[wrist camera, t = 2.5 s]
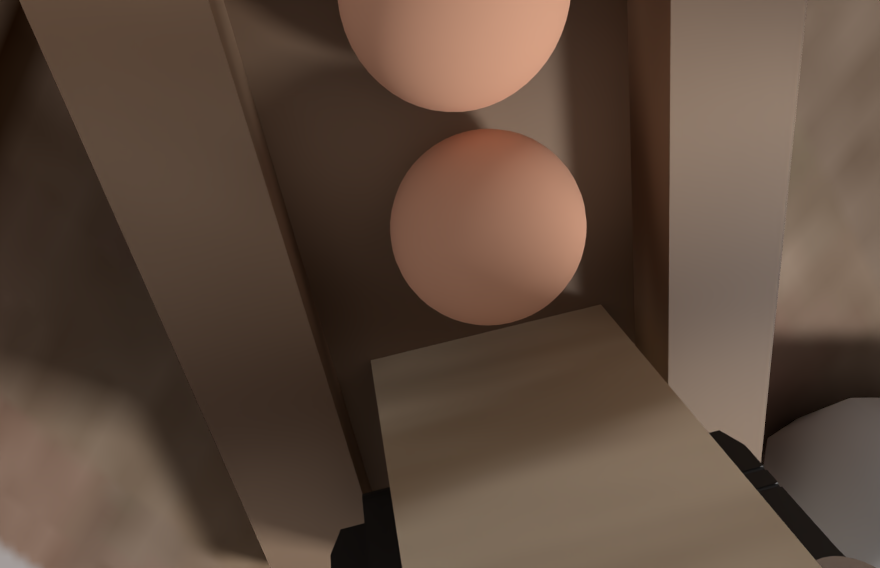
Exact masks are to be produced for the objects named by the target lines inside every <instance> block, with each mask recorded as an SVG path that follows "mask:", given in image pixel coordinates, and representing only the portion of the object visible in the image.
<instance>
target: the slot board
mask: <svg viewBox="0 0 880 568" xmlns="http://www.w3.org/2000/svg"><path fill="white" fill-rule="evenodd" d="M19 1H20V3H21V5H22V8H23V10H24V12H25V15H26V17H27V19H28V21H29V24H30V26H31V28H32V30H33V33H34V35H35V37H36V39H37V42H38V44H39V46H40V48H41V51H42V53H43V55H44V57H45V60H46V62H47V64H48V66H49V69H50V71H51V73H52V76H53V78H54V80H55V82H56V85H57V87H58V89H59V91H60V94H61V96H62V98H63V100H64V103H65V105H66V107H67V109H68V112H69V114H70V116H71V118H72V121H73V123H74V125H75V127H76V130H77V132H78V134H79V137H80V139H81V141H82V143H83V146H84V148H85V150H86V152H87V155H88V157H89V159H90V161H91V164H92V166H93V168H94V170H95V173H96V175H97V177H98V179H99V182H100V184H101V186H102V188H103V191H104V193H105V195H106V198H107V200H108V202H109V204H110V207H111V209H112V211H113V213H114V216H115V218H116V220H117V222H118V225H119V227H120V229H121V231H122V234H123V236H124V238H125V240H126V243H127V245H128V247H129V249H130V252H131V254H132V256H133V259H134V261H135V263H136V265H137V268H138V270H139V272H140V274H141V277H142V279H143V281H144V283H145V286H146V288H147V290H148V292H149V295H150V297H151V299H152V301H153V304H154V306H155V308H156V310H157V313H158V315H159V317H160V320H161V322H162V324H163V326H164V329H165V331H166V333H167V335H168V338H169V340H170V342H171V344H172V347H173V349H174V351H175V353H176V356H177V358H178V360H179V362H180V365H181V367H182V369H183V372H184V374H185V376H186V378H187V381H188V383H189V385H190V387H191V390H192V392H193V394H194V396H195V399H196V401H197V403H198V405H199V408H200V410H201V412H202V414H203V417H204V419H205V421H206V423H207V426H208V428H209V430H210V433H211V435H212V437H213V439H214V442H215V444H216V446H217V448H218V451H219V453H220V455H221V457H222V460H223V462H224V464H225V466H226V469H227V471H228V473H229V475H230V478H231V480H232V482H233V484H234V487H235V489H236V491H237V494H238V496H239V498H240V500H241V503H242V505H243V507H244V509H245V512H246V514H247V516H248V518H249V521H250V523H251V525H252V527H253V530H254V532H255V534H256V536H257V539H258V541H259V543H260V545H261V548H262V550H263V552H264V555H265V557H266V559H267V561H268V564H269V566H270V568H331V559H330V555H331V552H332V550H333V547H334V545H335V542H336V540H337V537H338V535H339V532H340V530H341V529H344V528H348V527H352V526H355V525H359V524H363V523H365V522H364V512H363V502H362V494H364V493H368V492H372V491H375V490H379V489H383V488H387V487H390V484H389V478H388V471H387V465H386V458H385V452H384V445H383V439H382V432H381V425H380V419H379V412H378V406H377V399H376V393H375V386H374V380H373V373H372V366H371V360H374V359H378V358H383V357H387V356H391V355H395V354H399V353H403V352H407V351H411V350H415V349H420V348H424V347H428V346H432V345H436V344H440V343H444V342H448V341H452V340H456V339H461V338H465V337H469V336H473V335H477V334H481V333H485V332H489V331H493V330H498V329H502V328H506V327H510V326H514V325H518V324H522V323H526V322H530V321H534V320H539V319H543V318H547V317H551V316H555V315H559V314H563V313H567V312H571V311H576V310H580V309H584V308H588V307H592V306H596V305H600V304H601V305H602V306H603V308H604V309H605V310H606V311H607V312H608V314H609V315H610V316H611V317H612V318H613V319H614V321H615V322H616V323H617V324H618V325H619V327H620V328H621V329H622V330H623V331H624V333H625V334H626V335H627V336H628V337H629V339H630V340H631V341H632V342H633V343H634V344H635V346H636V347H637V348H638V349H639V350H640V352H641V353H642V354H643V355H644V356H645V358H646V359H647V360H648V361H649V362H650V364H651V365H652V366H653V367H654V368H655V369H656V371H657V372H658V373H659V374H660V375H661V377H662V378H663V379H664V380H665V381H666V383H667V384H668V385H669V386H670V387H671V389H672V390H673V391H674V392H675V393H676V394H677V396H678V397H679V398H680V399H681V400H682V402H683V403H684V404H685V405H686V406H687V408H688V409H689V410H690V411H691V412H692V414H693V415H694V416H695V417H696V418H697V419H698V421H699V422H700V423H701V424H702V425H703V427H704V428H705V429H706V430H707V431H708V433H710V432H714V431H718V430H720V431H722V432H724V433H725V434H727V435H729V436H730V437H732V438H734V439H736V440H737V441H739V442H741V443H742V444H744V445H745V446H746V447H747V448H748V449H749V450H750V451H751V452H752V453H753V454H754V456H755V457H756V458H757V459H758V460H759V461H760V462H761V457H762V447H763V437H764V427H765V417H766V407H767V397H768V387H769V377H770V368H771V358H772V348H773V338H774V328H775V318H776V308H777V298H778V288H779V278H780V268H781V258H782V248H783V238H784V228H785V219H786V209H787V199H788V189H789V179H790V169H791V159H792V149H793V139H794V129H795V119H796V109H797V99H798V89H799V79H800V70H801V60H802V50H803V40H804V30H805V20H806V10H807V0H570V6H569V11H568V15H567V20H566V23H565V26H564V29H563V31H562V34H561V37H560V39H559V41H558V43H557V45H556V47H555V49H554V51H553V52H552V54H551V56H550V57H549V59H548V60H547V62H546V63H545V64H544V66H543V67H542V68H541V69H540V71H539V72H538V73H537V74H536V75H535V76H534V77H533V78H532V79H531V80H530V81H529V82H528V83H527V84H526V85H524V86H523V87H522V88H521V89H519V90H518V91H517V92H515V93H514V94H512V95H511V96H509V97H507V98H505V99H504V100H502V101H500V102H497V103H495V104H493V105H490V106H488V107H484V108H481V109H477V110H471V111H464V112H443V111H435V110H429V109H426V108H422V107H418V106H416V105H413V104H411V103H409V102H406V101H404V100H402V99H401V98H399V97H397V96H396V95H394V94H392V93H391V92H390V91H388V90H387V89H386V88H385V87H383V86H382V85H381V84H380V83H379V82H378V81H377V80H376V79H375V78H374V77H373V76H372V75H371V74H370V73H369V72H368V71H367V70H366V68H365V67H364V66H363V64H362V63H361V62H360V61H359V59H358V57H357V56H356V54H355V52H354V50H353V49H352V47H351V45H350V43H349V40H348V38H347V36H346V33H345V31H344V27H343V24H342V20H341V17H340V12H339V6H338V0H19ZM477 129H499V130H507V131H512V132H516V133H519V134H522V135H525V136H527V137H529V138H532V139H534V140H535V141H537V142H539V143H540V144H542V145H544V146H545V147H547V148H548V149H549V150H550V151H552V152H553V153H554V154H555V155H556V156H557V157H558V158H559V159H560V160H561V161H562V162H563V164H564V165H565V166H566V167H567V168H568V170H569V171H570V173H571V174H572V176H573V177H574V179H575V181H576V184H577V186H578V188H579V190H580V193H581V195H582V199H583V202H584V206H585V214H586V222H587V228H586V240H585V246H584V250H583V254H582V258H581V261H580V263H579V265H578V268H577V270H576V272H575V274H574V275H573V277H572V279H571V280H570V282H569V283H568V285H567V286H566V287H565V289H564V290H563V291H562V292H561V293H560V294H559V295H558V296H557V297H556V298H555V299H554V300H553V301H552V302H551V303H550V304H548V305H547V306H546V307H544V308H543V309H541V310H540V311H538V312H536V313H534V314H533V315H531V316H528V317H526V318H524V319H521V320H518V321H514V322H511V323H506V324H501V325H489V326H488V325H475V324H469V323H464V322H461V321H457V320H454V319H451V318H449V317H447V316H445V315H443V314H441V313H439V312H438V311H436V310H435V309H433V308H431V307H430V306H428V305H427V304H426V303H425V302H424V301H423V300H421V299H420V298H419V297H418V295H417V294H416V293H415V292H414V291H413V290H412V289H411V288H410V286H409V285H408V283H407V282H406V280H405V279H404V277H403V275H402V273H401V271H400V269H399V267H398V265H397V263H396V260H395V257H394V253H393V250H392V243H391V236H390V219H391V211H392V207H393V203H394V199H395V196H396V193H397V190H398V188H399V186H400V183H401V182H402V180H403V178H404V176H405V175H406V173H407V172H408V170H409V169H410V168H411V166H412V165H413V164H414V163H415V162H416V161H417V160H418V159H419V158H420V157H421V156H422V155H423V154H424V153H425V152H426V151H427V150H429V149H430V148H431V147H433V146H434V145H436V144H437V143H439V142H441V141H442V140H444V139H446V138H449V137H451V136H453V135H456V134H459V133H462V132H466V131H470V130H477Z"/></svg>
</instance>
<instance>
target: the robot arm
mask: <svg viewBox="0 0 880 568" xmlns="http://www.w3.org/2000/svg"><path fill="white" fill-rule="evenodd" d="M709 434H710V435H711V436H712V437H713V439H714V440H715V441H716V442H717V443H718V445H719V446H720V447H721V448H722V449H723V450H724V452H725V453H726V454H727V455H728V456H729V458H730V459H731V460H732V461H733V462H734V464H735V465H736V466H737V467H738V468H739V470H740V471H741V472H742V473H743V474H744V475H745V477H746V478H747V479H748V480H749V481H750V483H751V484H752V485H753V486H754V487H755V489H756V490H757V491H758V492H759V493H760V495H761V496H762V497H763V498H764V499H765V500H766V502H767V503H768V504H769V505H770V506H771V508H772V509H773V510H774V511H775V512H776V514H777V515H778V516H779V517H780V518H781V520H782V521H783V522H784V523H785V524H786V525H787V527H788V528H789V529H790V530H791V531H792V533H793V534H794V535H795V536H796V537H797V539H798V540H799V541H800V542H801V543H802V545H803V546H804V547H805V548H806V549H807V550H808V552H809V553H810V554H811V555H812V556H813V558H814V559H815V560H816V561H817V562H818V564H819V565H820V566H821V567H822V568H876V567H874V566H872V565H870V564H868V563H866V562H863V561H860V560H857V559H854V558H849V557H846V556H845V555H844V554H843V553H842V552H840V551H839V550H838V549H837V547H836V546H835V545H834V544H833V543H832V542H831V541H830V540H829V538H828V537H827V536H826V535H825V534H824V533H823V532H822V531H821V529H820V528H819V527H818V526H817V525H816V524H815V523H814V522H813V521H812V519H811V518H810V517H809V516H808V515H807V514H806V513H805V512H804V510H803V509H802V508H801V507H800V506H799V505H798V504H797V503H796V501H795V500H794V499H793V498H792V497H791V496H790V495H789V494H788V493H787V491H786V490H785V489H784V488H783V487H780V486H779V484H778V481H777V480H776V479H775V478H774V477H773V476H772V475H771V474H770V472H769V471H768V470H765V469H764V467H763V465H762V463H761V462H760V461H759V460H758V459H757V458H756V457H755V456H754V454H753V453H752V452H751V451H750V450H749V449H748V448H747V447H746V446H745V445H744V444H742V443H741V442H739V441H737V440H736V439H734V438H732V437H730V436H729V435H727V434H725V433H724V432H722V431H720V430H718V431H714V432H710V433H709ZM362 502H363V512H364V522H365V523H363V524H359V525H355V526H352V527H348V528H344V529H341V530H340V532H339V535H338V537H337V540H336V542H335V545H334V547H333V550H332V552H331V555H330V559H331V568H402V563H401V557H400V550H399V543H398V537H397V530H396V524H395V517H394V511H393V504H392V498H391V491H390V487H387V488H383V489H379V490H375V491H372V492H368V493H364V494H362Z"/></svg>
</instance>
